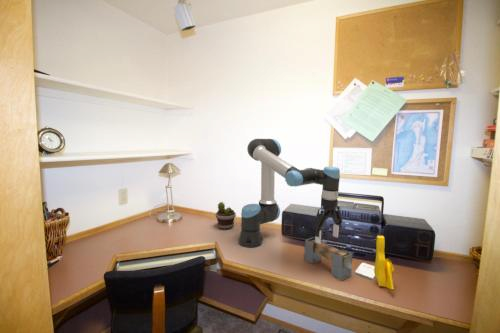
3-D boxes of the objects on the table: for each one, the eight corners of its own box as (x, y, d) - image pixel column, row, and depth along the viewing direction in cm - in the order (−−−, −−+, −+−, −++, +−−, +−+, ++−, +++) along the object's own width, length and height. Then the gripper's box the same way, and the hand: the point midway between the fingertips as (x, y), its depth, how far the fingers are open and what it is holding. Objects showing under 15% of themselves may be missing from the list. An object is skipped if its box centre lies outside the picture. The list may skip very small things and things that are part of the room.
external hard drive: (354, 274, 113) (361, 264, 123) (372, 281, 108) (379, 270, 117) (354, 271, 113) (362, 261, 123) (373, 278, 108) (379, 267, 117)
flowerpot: (238, 224, 178) (238, 198, 176) (232, 232, 163) (232, 204, 161) (220, 222, 181) (220, 197, 179) (212, 230, 166) (212, 202, 164)
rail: (310, 249, 125) (310, 240, 124) (315, 248, 127) (315, 239, 127) (341, 265, 109) (342, 255, 109) (346, 263, 111) (347, 253, 111)
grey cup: (331, 275, 112) (332, 253, 111) (340, 270, 116) (342, 249, 115) (342, 280, 108) (343, 258, 106) (351, 276, 112) (352, 254, 110)
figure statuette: (398, 298, 96) (402, 246, 94) (376, 294, 99) (380, 244, 96) (387, 275, 113) (391, 231, 110) (369, 271, 115) (372, 228, 113)
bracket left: (304, 259, 127) (305, 239, 125) (313, 256, 131) (313, 237, 129) (312, 264, 122) (313, 243, 121) (321, 260, 126) (322, 240, 125)
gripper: (319, 203, 105) (316, 248, 108) (351, 197, 119) (348, 236, 122) (306, 199, 111) (303, 242, 114) (338, 193, 125) (335, 231, 128)
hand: (326, 239), depth 118 cm, fingers open, 13 cm apart
